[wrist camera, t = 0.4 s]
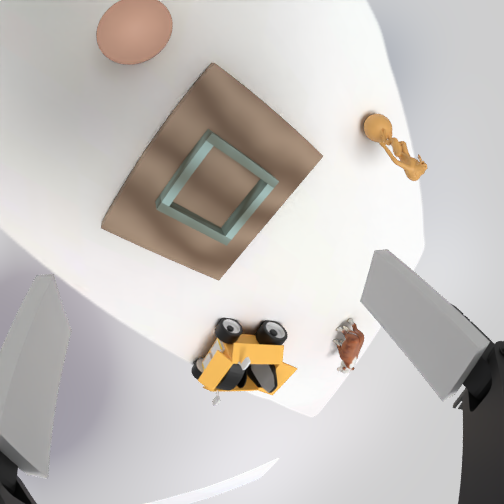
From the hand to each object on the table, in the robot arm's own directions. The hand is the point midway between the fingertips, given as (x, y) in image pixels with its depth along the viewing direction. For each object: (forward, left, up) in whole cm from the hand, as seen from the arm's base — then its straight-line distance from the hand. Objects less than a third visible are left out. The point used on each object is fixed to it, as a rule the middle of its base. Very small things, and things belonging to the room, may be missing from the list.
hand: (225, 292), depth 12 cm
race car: (+26, +31, -26) cm, 48 cm away
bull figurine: (+15, +55, -25) cm, 63 cm away
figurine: (-17, +21, -25) cm, 37 cm away
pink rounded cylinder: (-7, -9, -25) cm, 27 cm away
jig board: (+2, +8, -25) cm, 26 cm away
